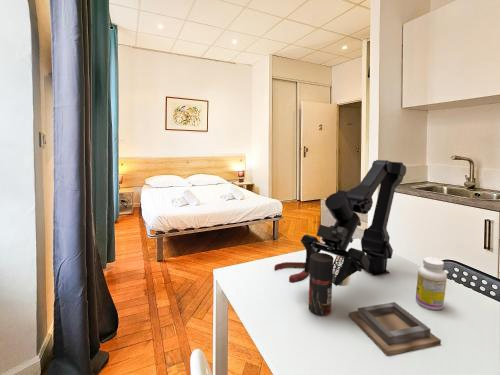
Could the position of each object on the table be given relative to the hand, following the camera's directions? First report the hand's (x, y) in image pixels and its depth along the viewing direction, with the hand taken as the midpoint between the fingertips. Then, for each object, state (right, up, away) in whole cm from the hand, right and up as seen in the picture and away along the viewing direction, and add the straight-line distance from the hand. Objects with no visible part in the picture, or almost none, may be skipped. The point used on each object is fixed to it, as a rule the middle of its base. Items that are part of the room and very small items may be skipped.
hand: (319, 278), depth 73 cm
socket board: (+16, -10, -6) cm, 20 cm away
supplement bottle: (+32, -9, +4) cm, 33 cm away
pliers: (+1, -6, +24) cm, 24 cm away
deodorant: (0, -9, +2) cm, 9 cm away
